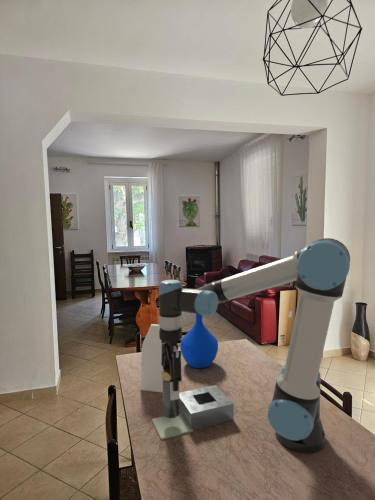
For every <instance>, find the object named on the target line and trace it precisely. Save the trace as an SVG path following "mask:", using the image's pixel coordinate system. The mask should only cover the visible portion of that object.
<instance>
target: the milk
mask: <svg viewBox="0 0 375 500" xmlns="http://www.w3.org/2000/svg"><path fill="white" fill-rule="evenodd" d="M148 328H149V329H148V331H147V333H146V335H145V338H144V340H143V342H142V345H141V363H140V366H141V368H140V391H148V392H157V393H163V379H162V378H161V372H162V371H163V366H162V365H161V356H162V343H161V340H160V338H159V328H160V327H159V324H157V323H156V324H155V323H151V324H150V327H148Z"/></svg>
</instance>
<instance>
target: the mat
mask: <svg viewBox="0 0 375 500" xmlns="http://www.w3.org/2000/svg"><path fill="white" fill-rule="evenodd" d="M151 421H152V424H153V426H154V428H155V430H156V433H157V434H158V436H159V439H160V440H161V441H162V440H166V439H169V438H174V437H177V436H181V435H186V434H188V433H189V434H190V433H193V432H194V430H193V429H191V428H190V427H189V425H188V424H187V422H186V421H185V419H184V417H183V416H182V414H181V413H180V412H179V415H178V416H177V417H175V418H167V417H165V416H164V415H163V416H162V415H161V416H159V417H155V418H152V419H151Z"/></svg>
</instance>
